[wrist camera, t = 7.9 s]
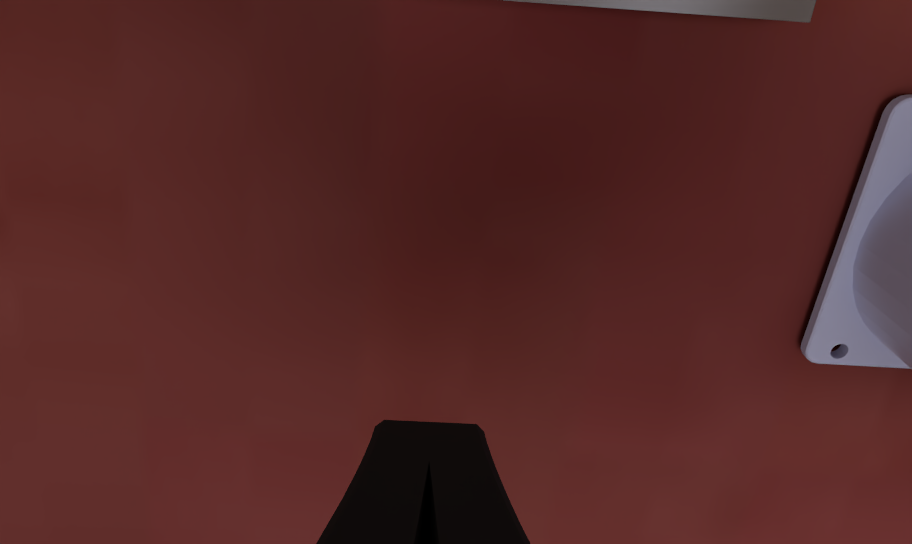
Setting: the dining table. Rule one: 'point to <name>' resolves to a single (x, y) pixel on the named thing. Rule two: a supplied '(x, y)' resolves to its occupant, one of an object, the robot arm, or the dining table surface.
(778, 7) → the slot board
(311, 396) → the dining table surface
